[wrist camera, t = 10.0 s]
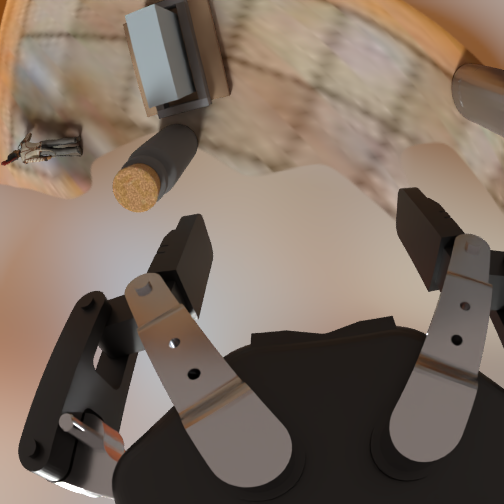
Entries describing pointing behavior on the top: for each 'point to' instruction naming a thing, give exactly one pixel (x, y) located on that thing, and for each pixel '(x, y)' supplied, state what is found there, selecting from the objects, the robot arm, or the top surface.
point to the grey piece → (192, 58)
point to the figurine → (42, 150)
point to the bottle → (154, 168)
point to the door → (160, 54)
